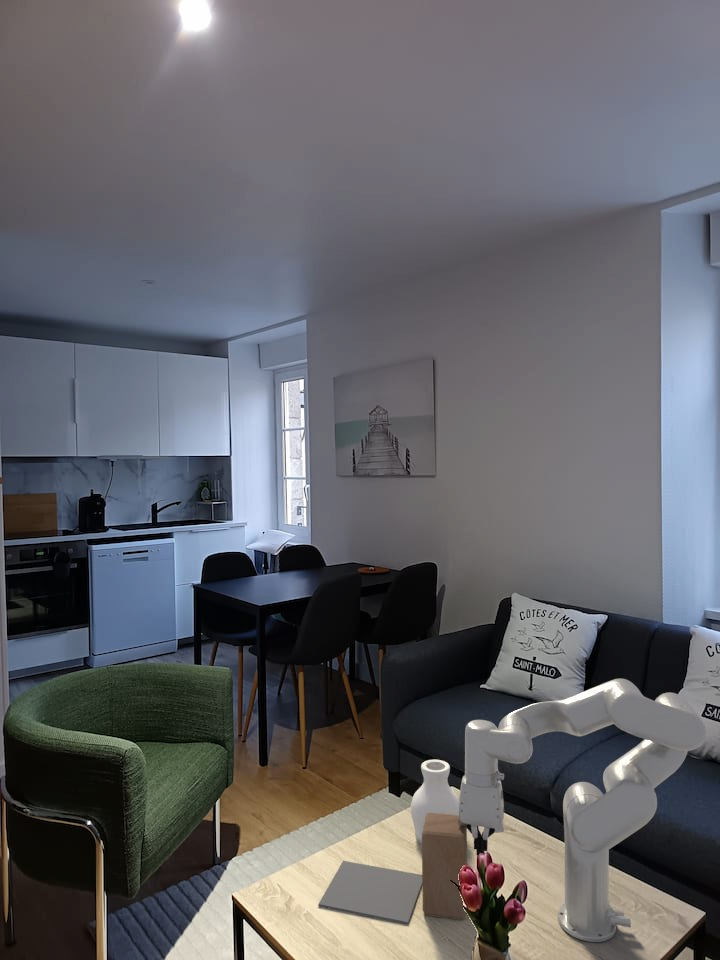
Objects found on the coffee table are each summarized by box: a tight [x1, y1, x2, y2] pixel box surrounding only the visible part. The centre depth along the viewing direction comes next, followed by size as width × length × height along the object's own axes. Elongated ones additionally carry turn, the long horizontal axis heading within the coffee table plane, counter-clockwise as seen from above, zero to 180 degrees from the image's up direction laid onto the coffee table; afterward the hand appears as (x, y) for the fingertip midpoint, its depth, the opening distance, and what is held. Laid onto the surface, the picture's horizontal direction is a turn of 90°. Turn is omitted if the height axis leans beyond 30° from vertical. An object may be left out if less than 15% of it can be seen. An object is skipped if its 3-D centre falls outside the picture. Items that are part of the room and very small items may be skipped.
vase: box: [410, 759, 460, 844], centre depth 191 cm, size 14×14×20 cm
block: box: [421, 813, 468, 921], centre depth 160 cm, size 10×10×20 cm
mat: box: [318, 860, 422, 925], centre depth 166 cm, size 22×18×1 cm
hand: (480, 852), depth 158 cm, fingers closed
